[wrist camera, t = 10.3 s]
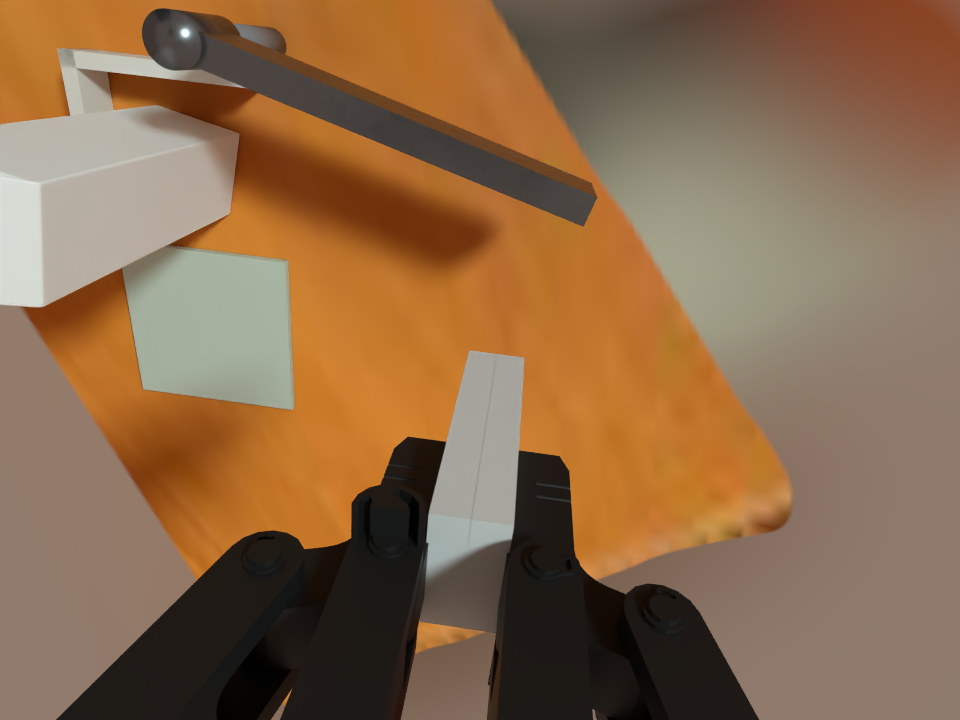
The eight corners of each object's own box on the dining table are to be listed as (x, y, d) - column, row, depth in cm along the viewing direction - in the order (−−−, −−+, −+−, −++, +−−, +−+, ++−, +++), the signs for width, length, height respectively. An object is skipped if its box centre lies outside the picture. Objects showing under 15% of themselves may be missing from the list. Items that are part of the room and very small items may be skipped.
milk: (152, 187, 44) (-162, 291, 25) (157, 102, 42) (-192, 143, 22) (232, 215, 45) (-15, 338, 25) (242, 132, 42) (-26, 198, 22)
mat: (122, 238, 46) (117, 240, 46) (288, 260, 46) (285, 262, 45) (147, 385, 52) (143, 389, 52) (294, 406, 52) (291, 409, 51)
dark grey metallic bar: (193, 58, 33) (139, 57, 29) (199, 7, 32) (145, -1, 28) (575, 215, 35) (579, 237, 31) (594, 172, 34) (602, 190, 30)
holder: (81, 6, 39) (-1, -4, 33) (285, 29, 39) (238, 24, 33) (117, 212, 45) (53, 236, 39) (293, 235, 45) (255, 262, 39)
